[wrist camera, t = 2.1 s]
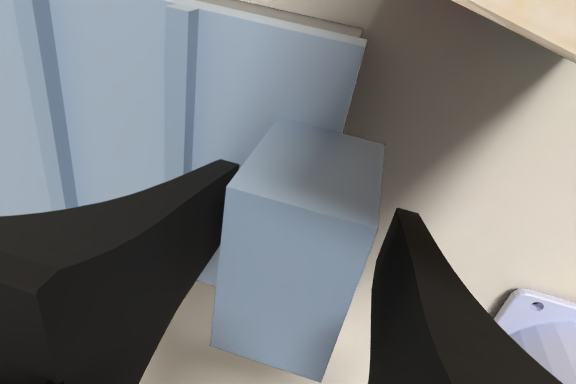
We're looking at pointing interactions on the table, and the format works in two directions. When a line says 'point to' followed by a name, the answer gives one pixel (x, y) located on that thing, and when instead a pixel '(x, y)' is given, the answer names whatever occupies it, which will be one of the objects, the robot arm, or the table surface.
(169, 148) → the lid
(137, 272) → the robot arm
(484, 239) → the table surface
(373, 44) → the table surface
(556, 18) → the stack of blocks
